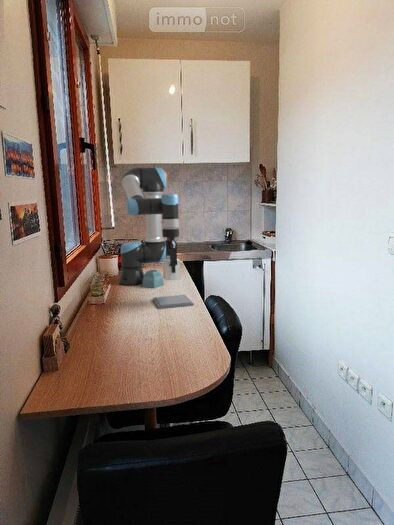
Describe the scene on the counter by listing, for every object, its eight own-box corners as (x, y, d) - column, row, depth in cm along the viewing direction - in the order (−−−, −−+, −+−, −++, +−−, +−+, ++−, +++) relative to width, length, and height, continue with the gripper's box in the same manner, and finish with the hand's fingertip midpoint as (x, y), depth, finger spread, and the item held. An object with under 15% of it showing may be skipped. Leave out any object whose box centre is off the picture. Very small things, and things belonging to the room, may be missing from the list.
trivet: (152, 299, 183) (152, 296, 183) (184, 296, 187) (184, 294, 187) (159, 308, 168) (158, 306, 168) (193, 305, 172) (193, 302, 172)
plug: (163, 278, 177) (162, 255, 175) (178, 277, 179) (177, 254, 177) (165, 280, 172) (164, 257, 170) (180, 279, 174) (180, 256, 172)
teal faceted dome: (163, 269, 210) (164, 285, 211) (151, 268, 214) (151, 283, 216) (154, 272, 202) (154, 289, 204) (141, 271, 207) (141, 287, 209)
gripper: (158, 226, 179) (160, 274, 183) (166, 230, 162) (168, 283, 166) (174, 226, 181) (175, 273, 185) (183, 229, 164) (184, 281, 168)
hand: (171, 278), depth 175 cm, fingers closed on plug, 5 cm apart
